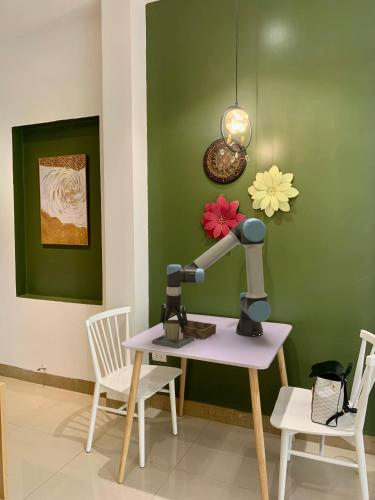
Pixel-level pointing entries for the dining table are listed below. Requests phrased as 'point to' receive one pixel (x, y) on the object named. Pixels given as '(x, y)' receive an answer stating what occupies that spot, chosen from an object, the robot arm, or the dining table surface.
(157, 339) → the tray
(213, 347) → the dining table surface
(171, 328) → the flower pot
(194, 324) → the walled box
